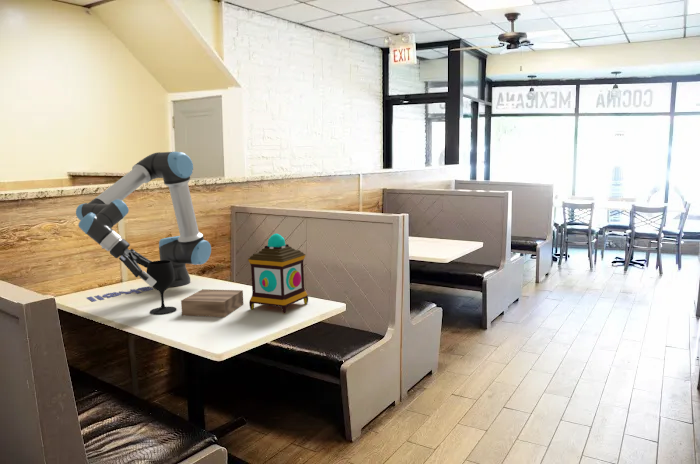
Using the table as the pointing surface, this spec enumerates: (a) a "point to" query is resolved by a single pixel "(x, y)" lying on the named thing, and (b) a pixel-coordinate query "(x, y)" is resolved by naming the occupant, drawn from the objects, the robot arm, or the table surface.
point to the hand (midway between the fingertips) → (158, 280)
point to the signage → (119, 293)
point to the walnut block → (212, 303)
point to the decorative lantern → (277, 275)
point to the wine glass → (161, 282)
